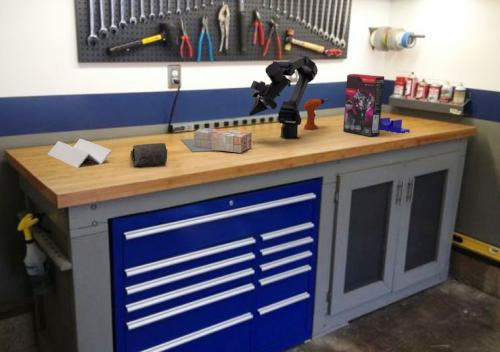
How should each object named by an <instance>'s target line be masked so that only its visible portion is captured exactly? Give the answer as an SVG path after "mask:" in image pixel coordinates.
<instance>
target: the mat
mask: <svg viewBox="0 0 500 352" xmlns="http://www.w3.org/2000/svg"><path fill="white" fill-rule="evenodd" d="M180 141H182V143H183V144H184V145H185V146H186V147H187V148H188V149H189V150H190V151H191V152H192V153H205V152H207V153H208V152H222V151H221V150H212V148H204V147H194V138H184V139H183V138H182V139H180Z"/></svg>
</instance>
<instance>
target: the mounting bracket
mask: <svg viewBox="0 0 500 352" xmlns="http://www.w3.org/2000/svg"><path fill="white" fill-rule="evenodd" d="M402 126H403V119H401V118H399V119H392V120H391V117H390V116H386V117H381V120H380V131H383V130H385V132H389V131H390V132H389V133H394V132H396V133H395V134H399V133H402V134H406V133H405V132H408V133H411V129H410V128H404V127H402Z"/></svg>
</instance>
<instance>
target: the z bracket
mask: <svg viewBox="0 0 500 352" xmlns="http://www.w3.org/2000/svg"><path fill="white" fill-rule="evenodd" d="M112 151H113V150H112V149H110V148H107V147H105V146H102V145H99V144H96V143H94V142H91V141H88V140H86V139H83V138H79V139H78V141H76V143H74V145H73V146H71V145H70V144H67V143H65V142H63V141H59V140H58V141H57V142H56V143H55V145H54V146H53V147H52V148H51V149H50V151H49V152H48V153H47V155H48V156H50V157H53V158H55V159H57V160H59V161H61V162H64V163H65V164H68V165H70V166H72V167H75V168H77V169H78V168H80V166H81V165H82V164H83V162H84V161H85V160H86V159H88V160H90V161H91V162H94V163H97V164H98V165H102V164H103V163H104V162H105V160H106V159H107V157H109V156H110V154H111V153H112Z"/></svg>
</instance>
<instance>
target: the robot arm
mask: <svg viewBox="0 0 500 352" xmlns="http://www.w3.org/2000/svg"><path fill="white" fill-rule="evenodd" d="M296 71H297V76H298V78H297V80H296V83H295V86H294V88H293V90H292V92H291V94H290V97H289V98H288V101H285V100H284V101H283V102H282V103H281V106H280V107H279V111H278V114H277V115H278V122H279V124H281V125H282V126H281V127H280V137H282V138H283V139H286V140H287V139H288V140H289V139H299V138H300V137H299V136H298V132H299V131H298V128H299V126H300V125H301V124H302V120H303V119H302V117H301V114H300V109H299V105H300V103H301V101H302V99H303V96H304V95H305V92H306V90H307V87H308V85H309V83H311V82H312V81H313V80H314V79H315V77H316V76H317V74H318V72H319V71H318V67H317V64H316V62H314V61H313V60H312V59H310V56H308V55H301V54H300V55H297V56H295V57H294V58H292V59H290V60H286V61H285V60H284V61H282V60H281V61H277V60H275V61H274V60H273V61H272V63H270V64H268V65H267V66H266V67H265V73H266V75H267V77H268V78H269V80H270V81H271V82H270V83H269V84H268V83H266V82H265V81H263V80H261V81H257V80H253V81H252V82H251V85H250V89H254V90H256V91H254V90H253V91H252V93H251V94H250V96H251V97H252V98H253V99H254V100H253V101H254V103H253V104H252V107H251V109H250V111H249V112H248V116H250V117H251V116H254V115H256V114H259V113H261V112H264V111H266V110H269V108H268V107H270V109H271V110H272V111H275V110H276V109H277V108H278V103H277V102H276V101H275V99H276V98H278V97H281V93H282V92H283V90H285V89H286V88H287V87H288V88H291V85H292V84H291V82H292V80H290V79H289V78H287V77H292V76H293V75H294V74H295V73H296Z"/></svg>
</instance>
